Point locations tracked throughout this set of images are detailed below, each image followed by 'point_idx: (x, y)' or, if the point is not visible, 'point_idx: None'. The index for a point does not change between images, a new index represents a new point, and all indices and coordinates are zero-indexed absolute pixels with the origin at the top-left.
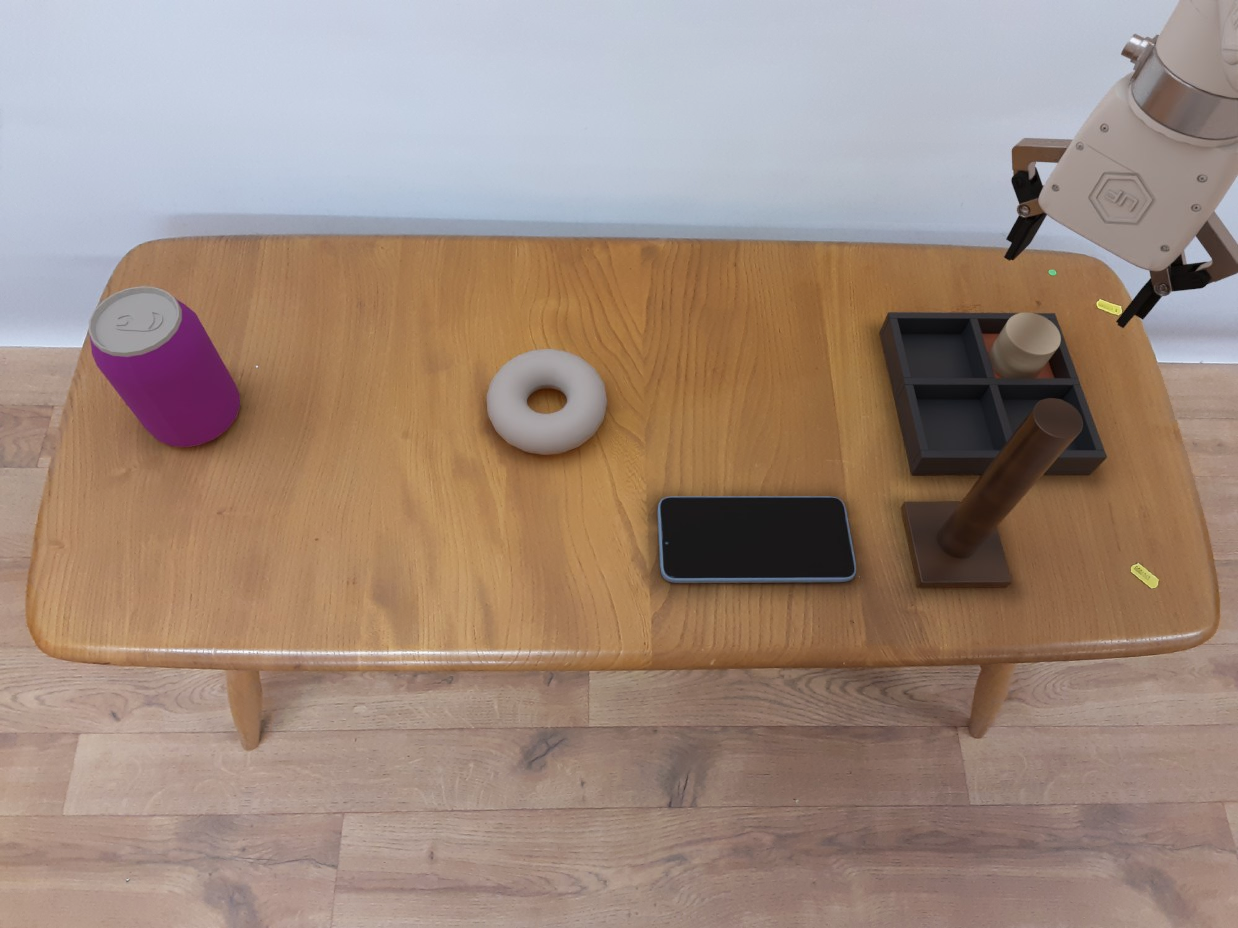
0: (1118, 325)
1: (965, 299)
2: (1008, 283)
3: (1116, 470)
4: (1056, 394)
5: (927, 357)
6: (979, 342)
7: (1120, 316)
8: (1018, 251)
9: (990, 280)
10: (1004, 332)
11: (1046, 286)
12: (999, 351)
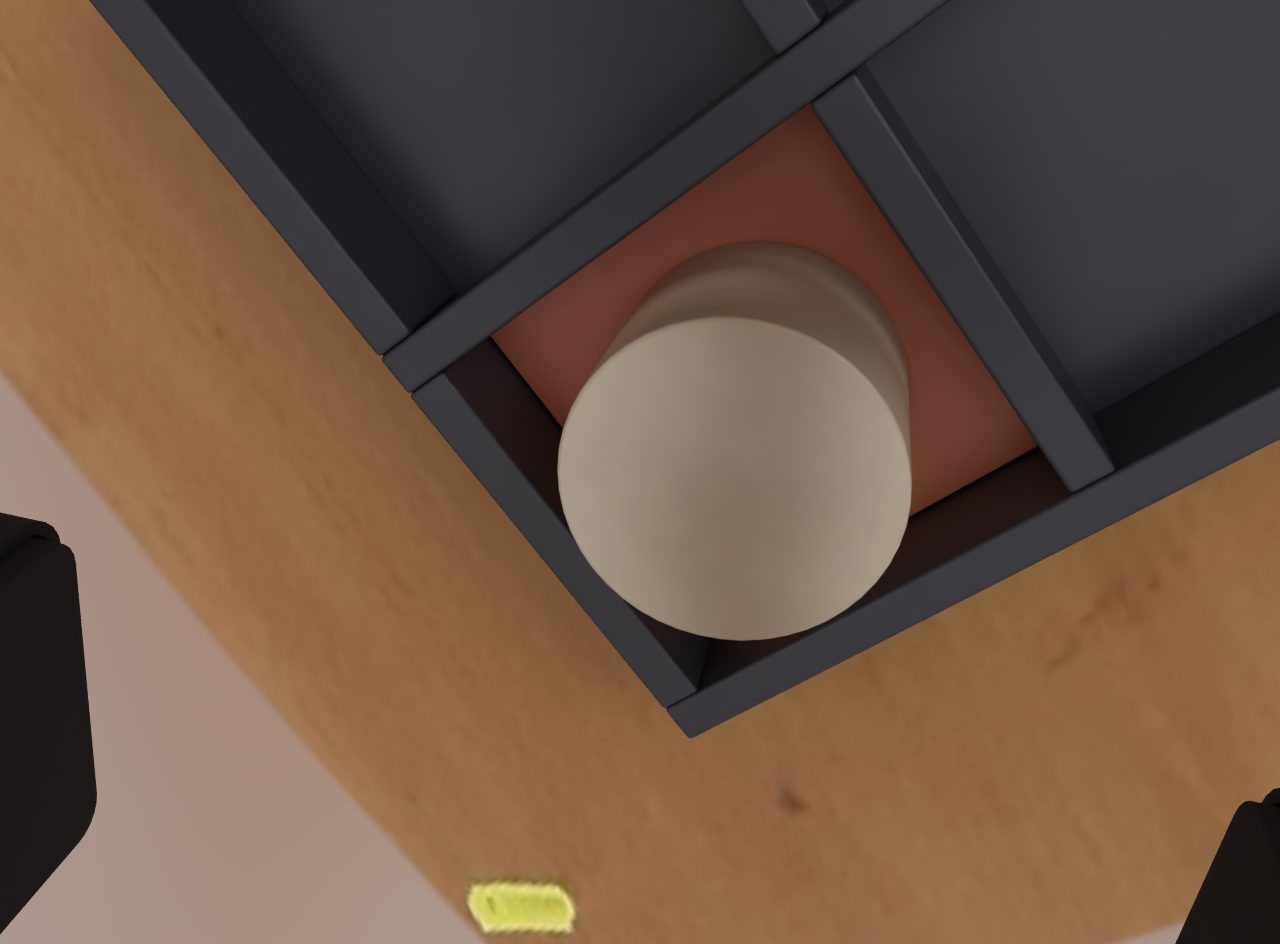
0: (38, 524)
1: (1134, 667)
2: (960, 849)
3: (80, 57)
4: (479, 279)
5: (1239, 128)
6: (999, 324)
7: (3, 580)
8: (1277, 911)
9: (1049, 830)
10: (895, 410)
11: (793, 903)
12: (862, 321)
